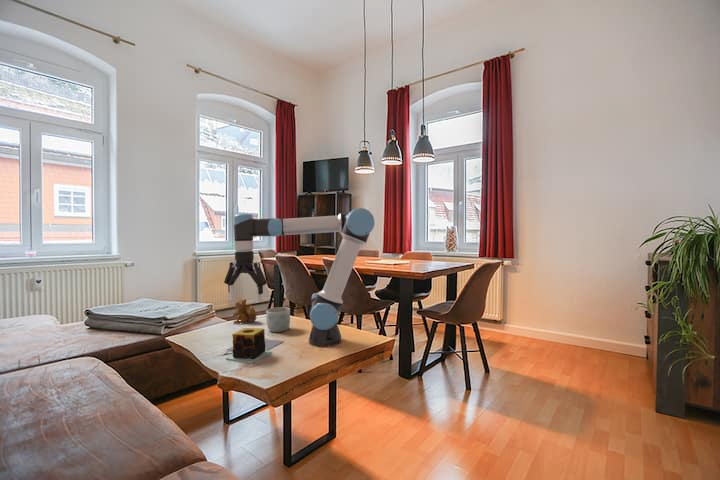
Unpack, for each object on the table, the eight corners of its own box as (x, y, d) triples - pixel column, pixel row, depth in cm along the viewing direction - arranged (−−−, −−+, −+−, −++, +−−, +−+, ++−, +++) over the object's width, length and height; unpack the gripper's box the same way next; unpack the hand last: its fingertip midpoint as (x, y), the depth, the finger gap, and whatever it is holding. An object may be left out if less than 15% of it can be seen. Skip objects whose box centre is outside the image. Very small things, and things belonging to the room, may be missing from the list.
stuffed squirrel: (239, 319, 214) (238, 297, 214) (261, 320, 211) (260, 298, 211) (230, 324, 204) (229, 301, 204) (252, 324, 201) (252, 301, 201)
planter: (287, 333, 183) (287, 312, 182) (263, 333, 183) (263, 312, 182) (292, 326, 195) (292, 306, 195) (270, 327, 195) (269, 307, 195)
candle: (254, 359, 144) (253, 335, 144) (232, 358, 147) (231, 334, 146) (266, 351, 154) (265, 328, 154) (245, 349, 157) (244, 327, 156)
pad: (271, 352, 154) (271, 351, 154) (252, 363, 142) (251, 361, 142) (247, 349, 159) (247, 348, 159) (226, 359, 147) (226, 358, 147)
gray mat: (283, 341, 169) (283, 341, 169) (259, 354, 152) (259, 353, 152) (253, 338, 176) (253, 337, 176) (226, 350, 159) (226, 349, 159)
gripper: (274, 250, 149) (275, 300, 150) (226, 250, 158) (228, 297, 159) (263, 251, 142) (265, 304, 143) (214, 251, 151) (216, 301, 152)
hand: (245, 301), depth 151 cm, fingers open, 13 cm apart
